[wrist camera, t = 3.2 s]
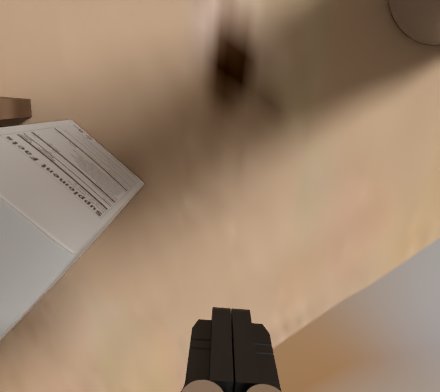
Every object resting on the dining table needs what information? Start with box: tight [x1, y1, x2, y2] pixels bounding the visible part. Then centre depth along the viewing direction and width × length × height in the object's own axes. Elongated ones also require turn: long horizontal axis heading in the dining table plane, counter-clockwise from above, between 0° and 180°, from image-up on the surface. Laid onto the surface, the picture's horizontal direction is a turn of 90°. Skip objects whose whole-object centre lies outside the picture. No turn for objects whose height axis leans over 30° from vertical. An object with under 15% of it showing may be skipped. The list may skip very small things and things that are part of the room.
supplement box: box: [0, 120, 144, 340], centre depth 23 cm, size 9×9×15 cm
